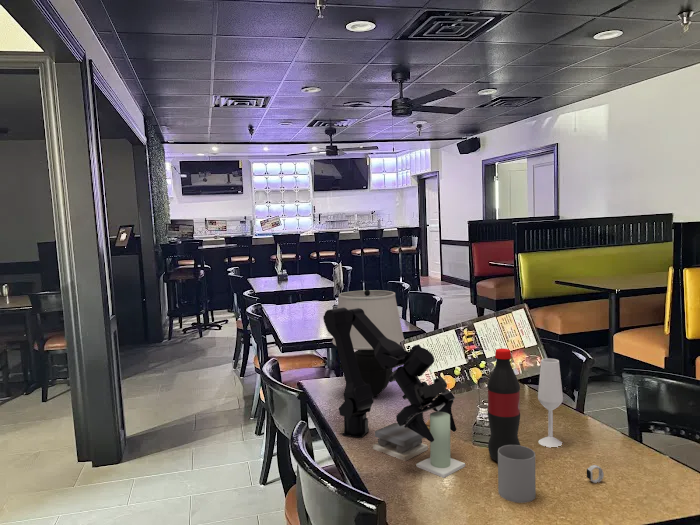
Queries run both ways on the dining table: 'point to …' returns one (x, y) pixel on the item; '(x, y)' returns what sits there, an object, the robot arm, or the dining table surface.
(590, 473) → the smartwatch
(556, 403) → the champagne flute
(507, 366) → the cola bottle
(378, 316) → the table lamp
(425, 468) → the pad
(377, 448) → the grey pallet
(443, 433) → the roller
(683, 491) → the dining table surface
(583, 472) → the dining table surface
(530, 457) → the cup
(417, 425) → the robot arm
